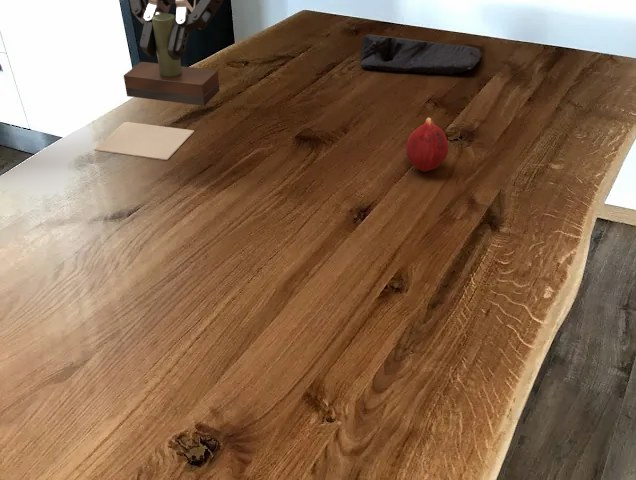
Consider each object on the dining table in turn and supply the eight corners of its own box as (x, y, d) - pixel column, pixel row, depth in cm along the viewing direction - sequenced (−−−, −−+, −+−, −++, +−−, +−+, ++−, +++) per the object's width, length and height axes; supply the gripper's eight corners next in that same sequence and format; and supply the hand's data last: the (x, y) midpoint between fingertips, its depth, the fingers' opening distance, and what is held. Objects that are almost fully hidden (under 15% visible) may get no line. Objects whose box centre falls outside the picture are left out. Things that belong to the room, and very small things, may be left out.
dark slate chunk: (472, 83, 129) (475, 57, 126) (352, 69, 134) (353, 43, 131) (484, 54, 140) (488, 28, 137) (373, 42, 146) (374, 17, 143)
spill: (94, 150, 110) (93, 149, 110) (125, 122, 117) (125, 121, 117) (167, 160, 107) (167, 159, 107) (194, 131, 115) (194, 130, 115)
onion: (453, 174, 104) (460, 121, 99) (422, 185, 102) (428, 132, 96) (426, 158, 108) (432, 106, 103) (396, 168, 105) (400, 116, 100)
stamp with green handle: (126, 96, 96) (113, 19, 89) (144, 81, 99) (132, 6, 93) (204, 106, 93) (196, 27, 87) (219, 90, 97) (212, 14, 90)
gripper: (125, -98, 90) (95, 36, 89) (232, -92, 87) (201, 47, 86) (151, -61, 97) (123, 63, 96) (250, -54, 94) (222, 74, 93)
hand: (160, 55), depth 91 cm, fingers closed on stamp with green handle, 3 cm apart
